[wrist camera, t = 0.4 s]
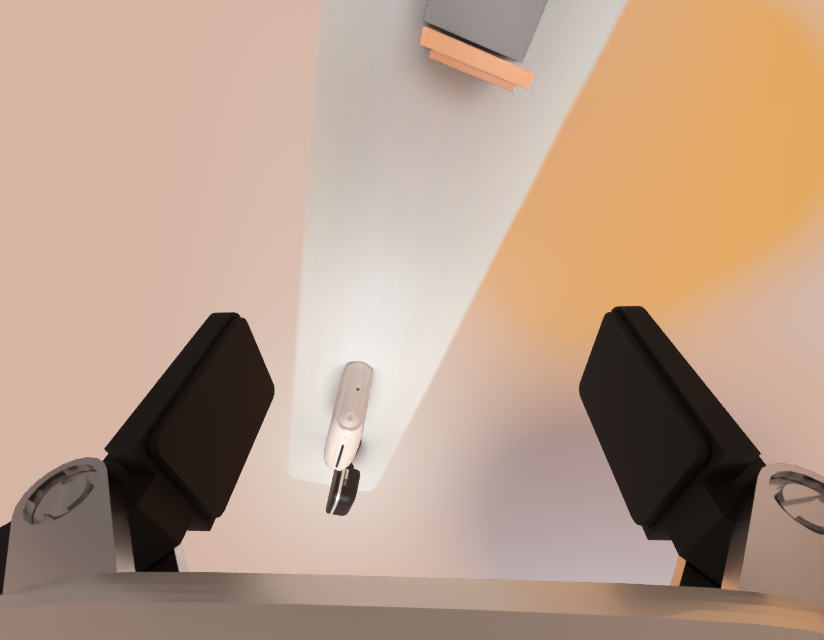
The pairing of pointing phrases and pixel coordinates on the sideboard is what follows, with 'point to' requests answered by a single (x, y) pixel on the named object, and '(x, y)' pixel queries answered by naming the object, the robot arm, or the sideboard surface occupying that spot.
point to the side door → (474, 61)
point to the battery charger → (343, 490)
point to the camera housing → (488, 24)
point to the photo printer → (348, 416)
